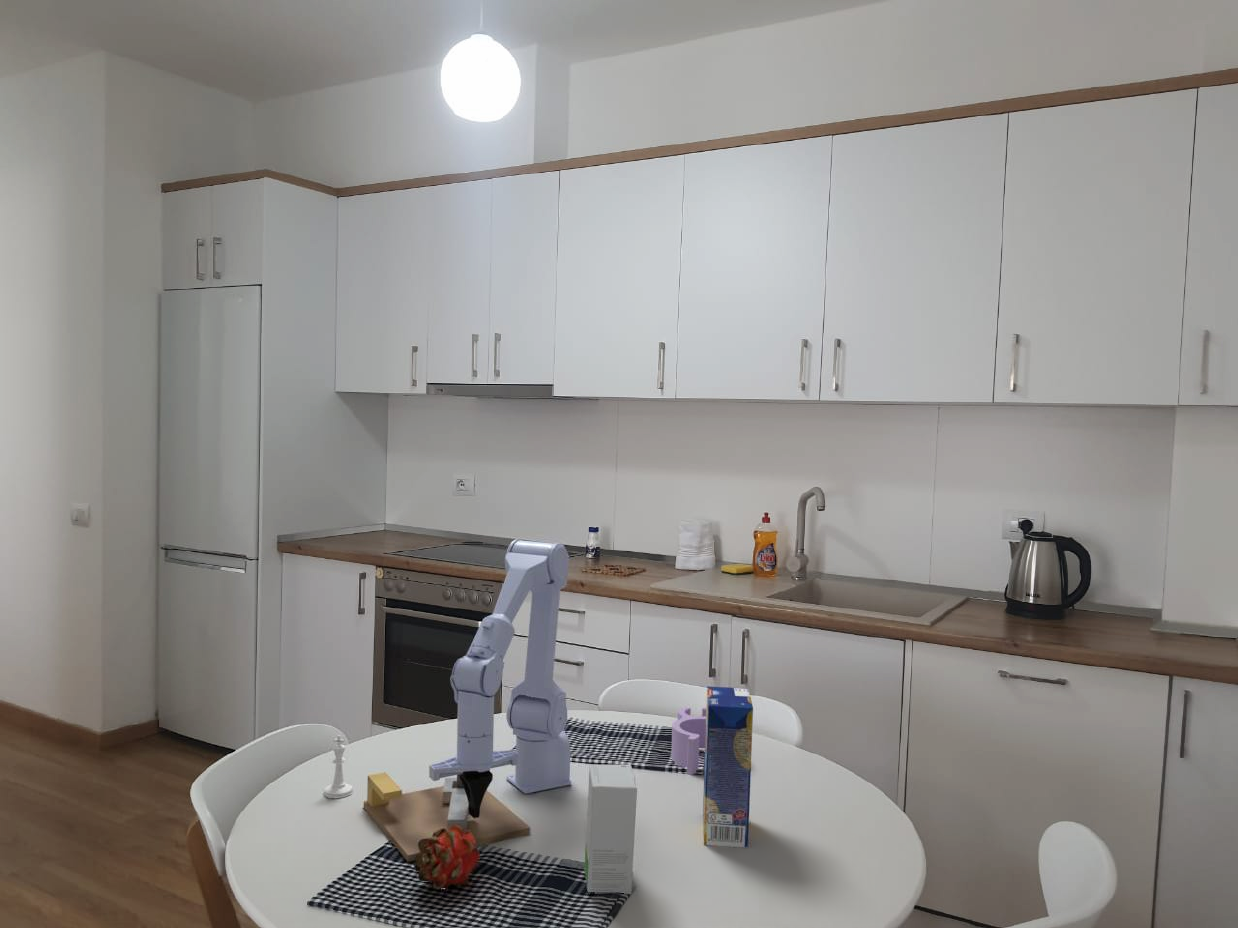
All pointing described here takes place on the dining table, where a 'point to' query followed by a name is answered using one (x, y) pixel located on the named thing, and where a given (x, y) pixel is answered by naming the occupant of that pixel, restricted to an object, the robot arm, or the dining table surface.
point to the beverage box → (727, 766)
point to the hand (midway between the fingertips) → (473, 815)
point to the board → (441, 819)
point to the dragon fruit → (447, 857)
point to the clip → (688, 739)
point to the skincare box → (610, 828)
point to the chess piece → (338, 774)
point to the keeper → (381, 789)
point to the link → (456, 804)
